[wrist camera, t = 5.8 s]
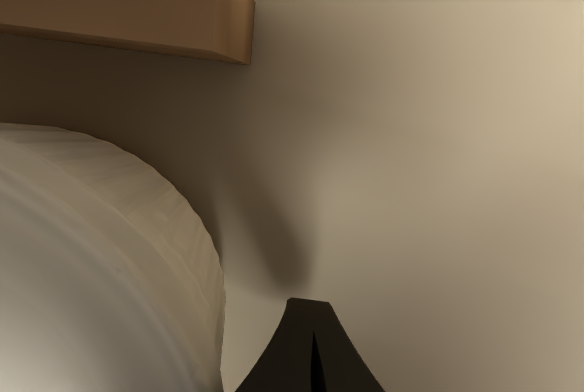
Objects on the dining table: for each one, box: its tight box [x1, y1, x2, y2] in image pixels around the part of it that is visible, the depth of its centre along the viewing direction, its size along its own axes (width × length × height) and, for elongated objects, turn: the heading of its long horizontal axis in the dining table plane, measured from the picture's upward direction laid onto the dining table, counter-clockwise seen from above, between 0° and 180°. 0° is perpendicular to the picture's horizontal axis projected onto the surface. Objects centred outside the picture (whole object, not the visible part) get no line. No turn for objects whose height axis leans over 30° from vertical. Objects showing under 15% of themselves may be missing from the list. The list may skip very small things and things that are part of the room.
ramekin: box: [0, 123, 226, 392], centre depth 9 cm, size 11×11×5 cm
